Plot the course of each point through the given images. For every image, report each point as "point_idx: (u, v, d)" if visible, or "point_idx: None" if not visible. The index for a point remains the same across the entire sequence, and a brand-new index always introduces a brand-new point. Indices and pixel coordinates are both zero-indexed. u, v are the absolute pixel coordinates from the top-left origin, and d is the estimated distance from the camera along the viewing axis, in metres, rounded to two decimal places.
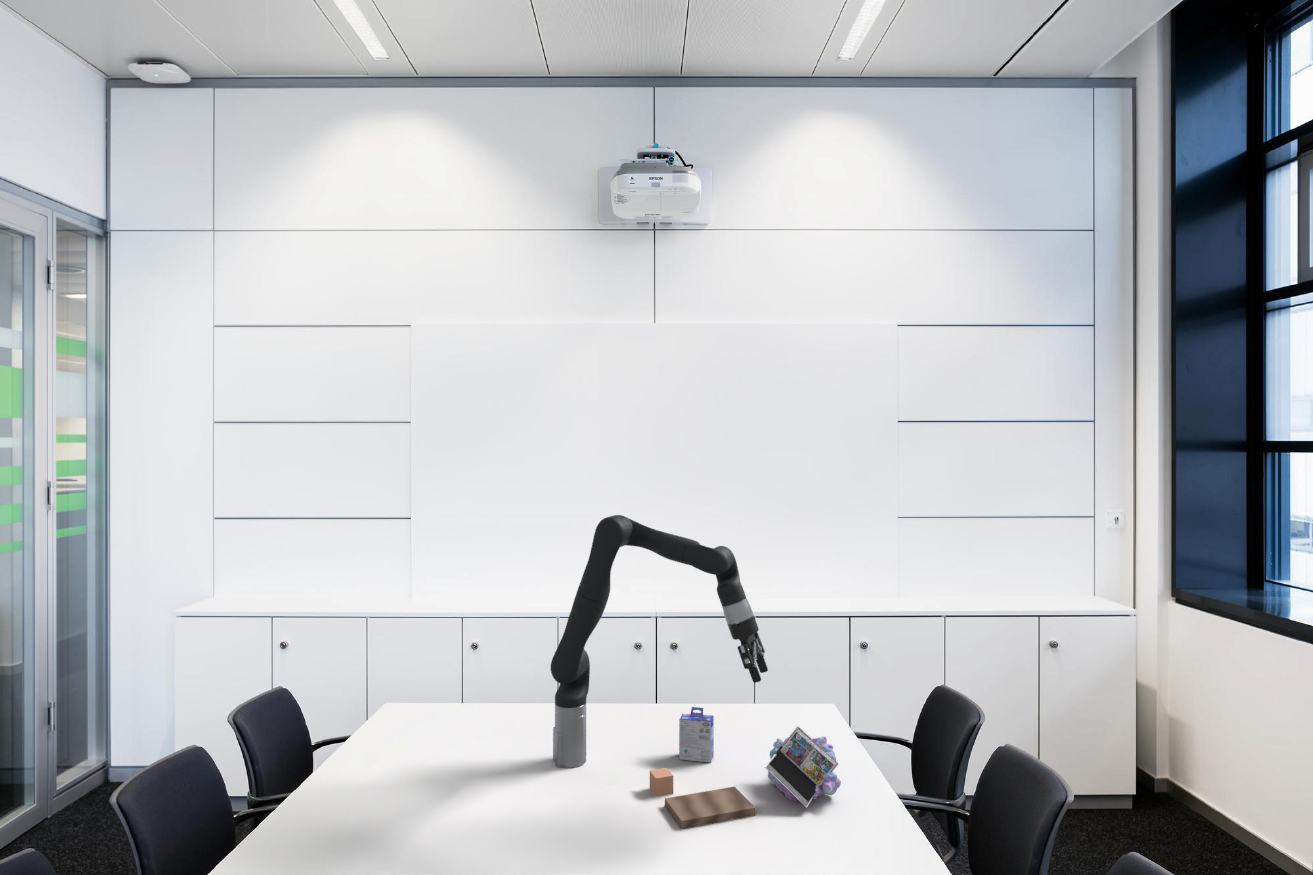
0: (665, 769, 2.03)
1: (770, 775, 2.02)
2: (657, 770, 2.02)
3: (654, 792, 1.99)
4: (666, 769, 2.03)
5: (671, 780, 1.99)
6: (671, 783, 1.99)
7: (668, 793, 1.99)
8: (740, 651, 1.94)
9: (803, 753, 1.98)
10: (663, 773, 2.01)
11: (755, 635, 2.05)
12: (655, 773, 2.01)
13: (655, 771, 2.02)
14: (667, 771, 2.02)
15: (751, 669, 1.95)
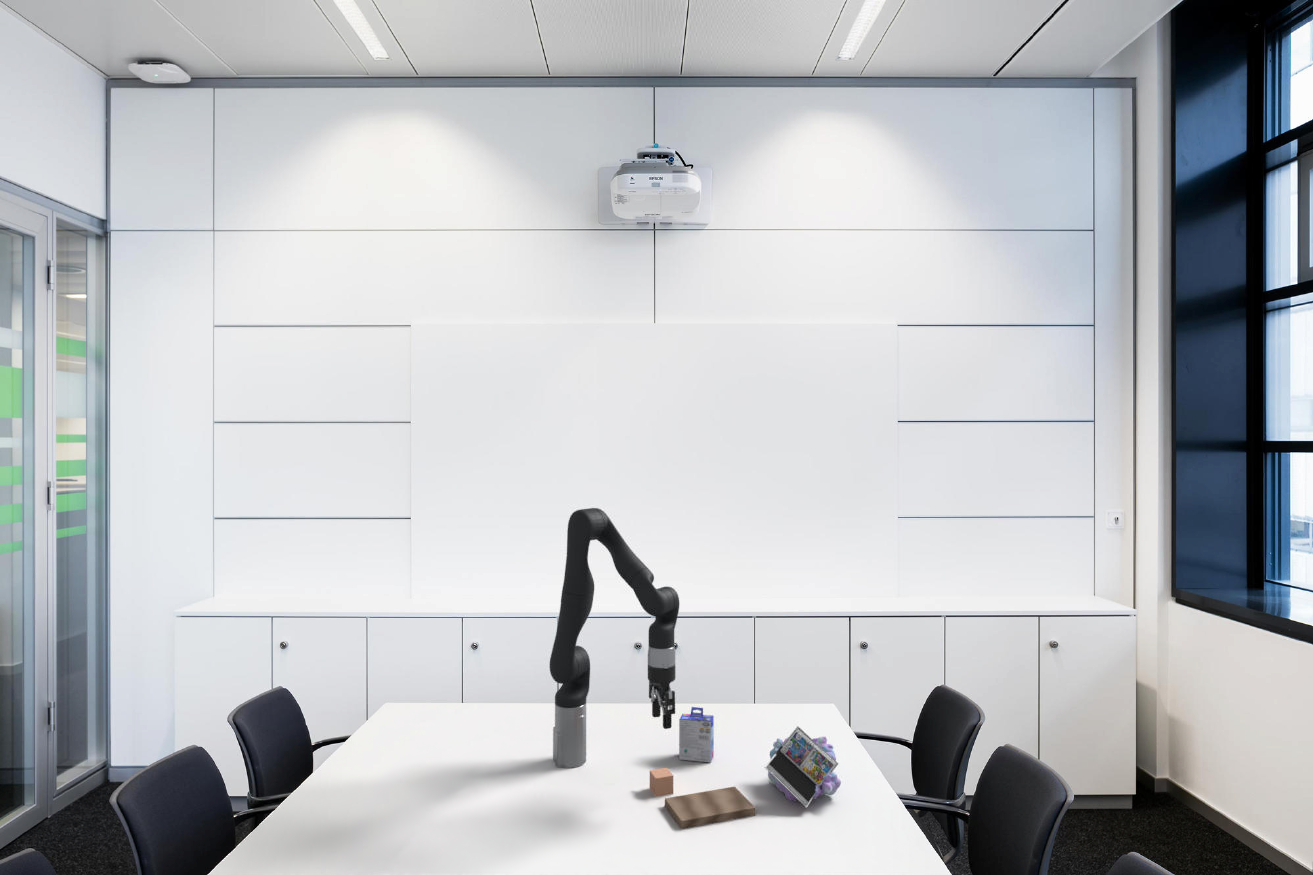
0: (665, 769, 2.03)
1: (770, 775, 2.02)
2: (657, 770, 2.02)
3: (654, 792, 1.99)
4: (666, 769, 2.03)
5: (671, 780, 1.99)
6: (671, 783, 1.99)
7: (668, 793, 1.99)
8: (667, 697, 1.94)
9: (803, 753, 1.98)
10: (663, 773, 2.01)
11: None
12: (655, 773, 2.01)
13: (655, 771, 2.02)
14: (667, 771, 2.02)
15: (668, 715, 1.96)
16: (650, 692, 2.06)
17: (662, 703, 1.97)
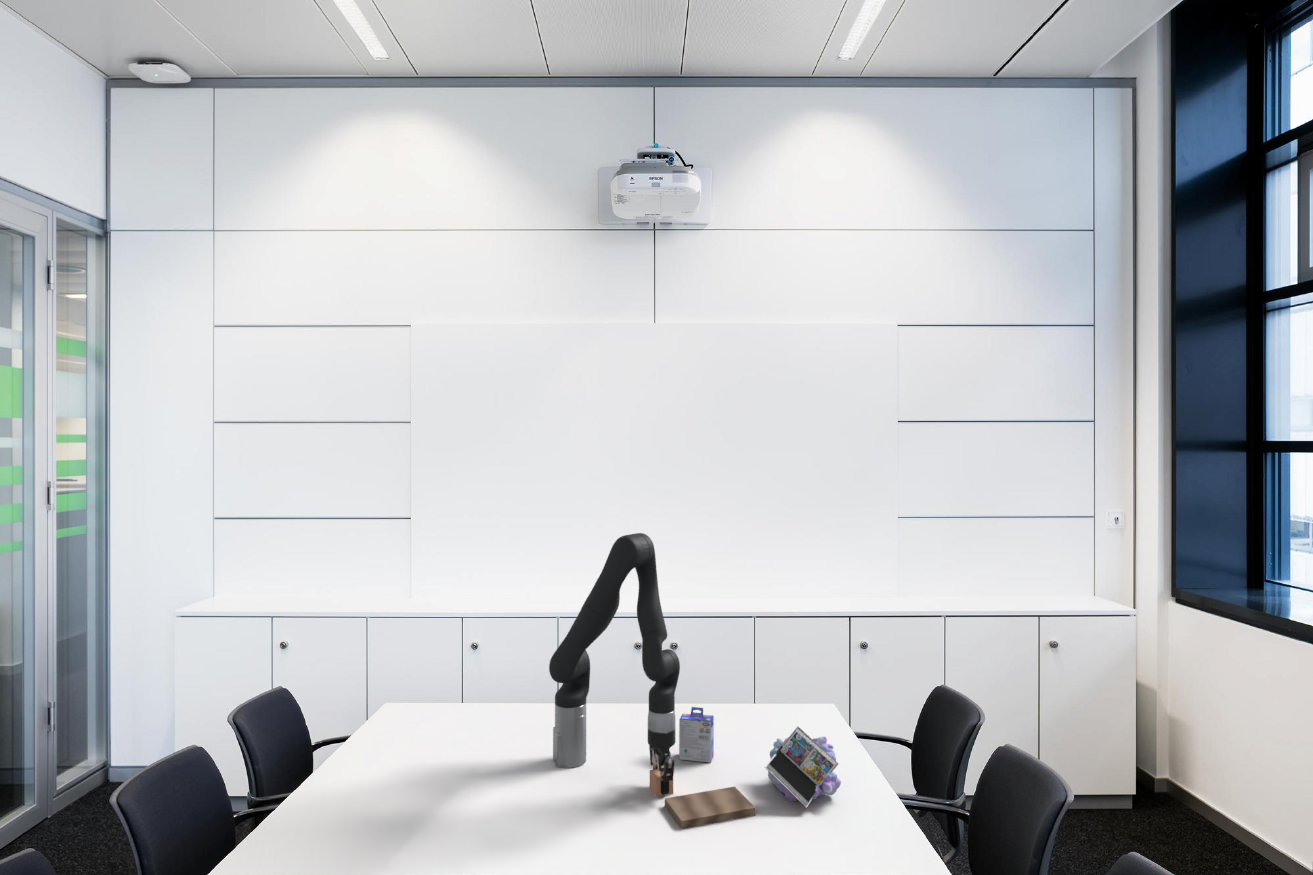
0: None
1: (770, 775, 2.02)
2: (657, 769, 2.02)
3: (654, 792, 1.99)
4: None
5: (671, 780, 1.99)
6: (671, 783, 1.99)
7: (668, 793, 1.99)
8: (667, 766, 1.94)
9: (803, 753, 1.98)
10: None
11: None
12: (655, 773, 2.01)
13: (655, 771, 2.02)
14: None
15: (666, 781, 1.97)
16: (651, 758, 2.05)
17: (661, 769, 1.98)
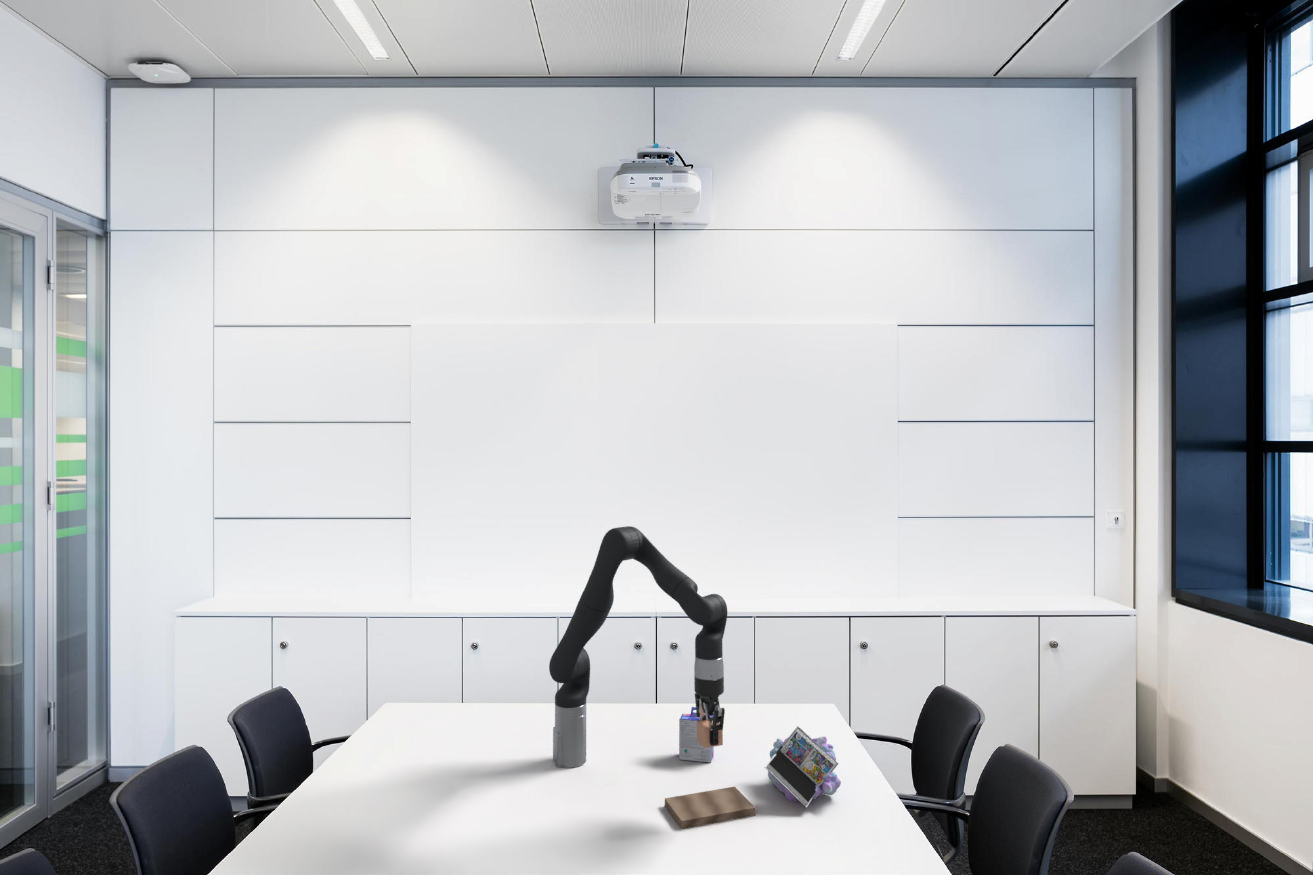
0: None
1: (770, 775, 2.02)
2: (704, 720, 1.92)
3: (702, 743, 1.88)
4: None
5: (720, 730, 1.89)
6: (720, 733, 1.89)
7: None
8: (717, 715, 1.84)
9: (803, 753, 1.98)
10: None
11: None
12: (703, 723, 1.90)
13: (703, 722, 1.91)
14: None
15: (715, 731, 1.87)
16: (698, 709, 1.95)
17: (710, 719, 1.87)
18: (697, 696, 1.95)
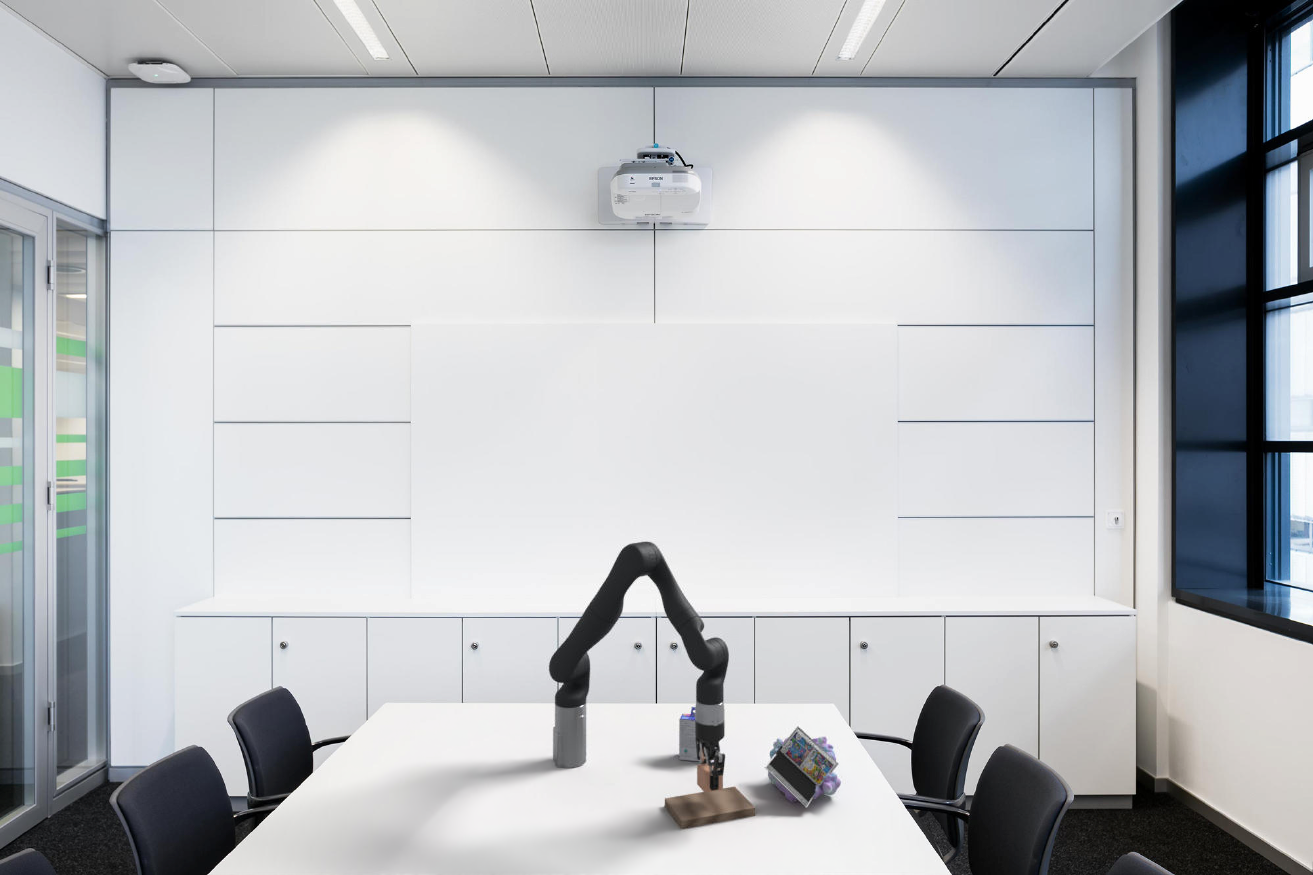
0: None
1: (770, 775, 2.02)
2: (705, 764, 1.92)
3: (703, 787, 1.88)
4: None
5: (720, 775, 1.89)
6: (720, 778, 1.89)
7: None
8: (717, 761, 1.84)
9: (803, 753, 1.98)
10: None
11: None
12: (703, 767, 1.90)
13: (703, 765, 1.91)
14: None
15: (715, 776, 1.87)
16: (698, 752, 1.94)
17: (710, 764, 1.87)
18: (698, 739, 1.95)
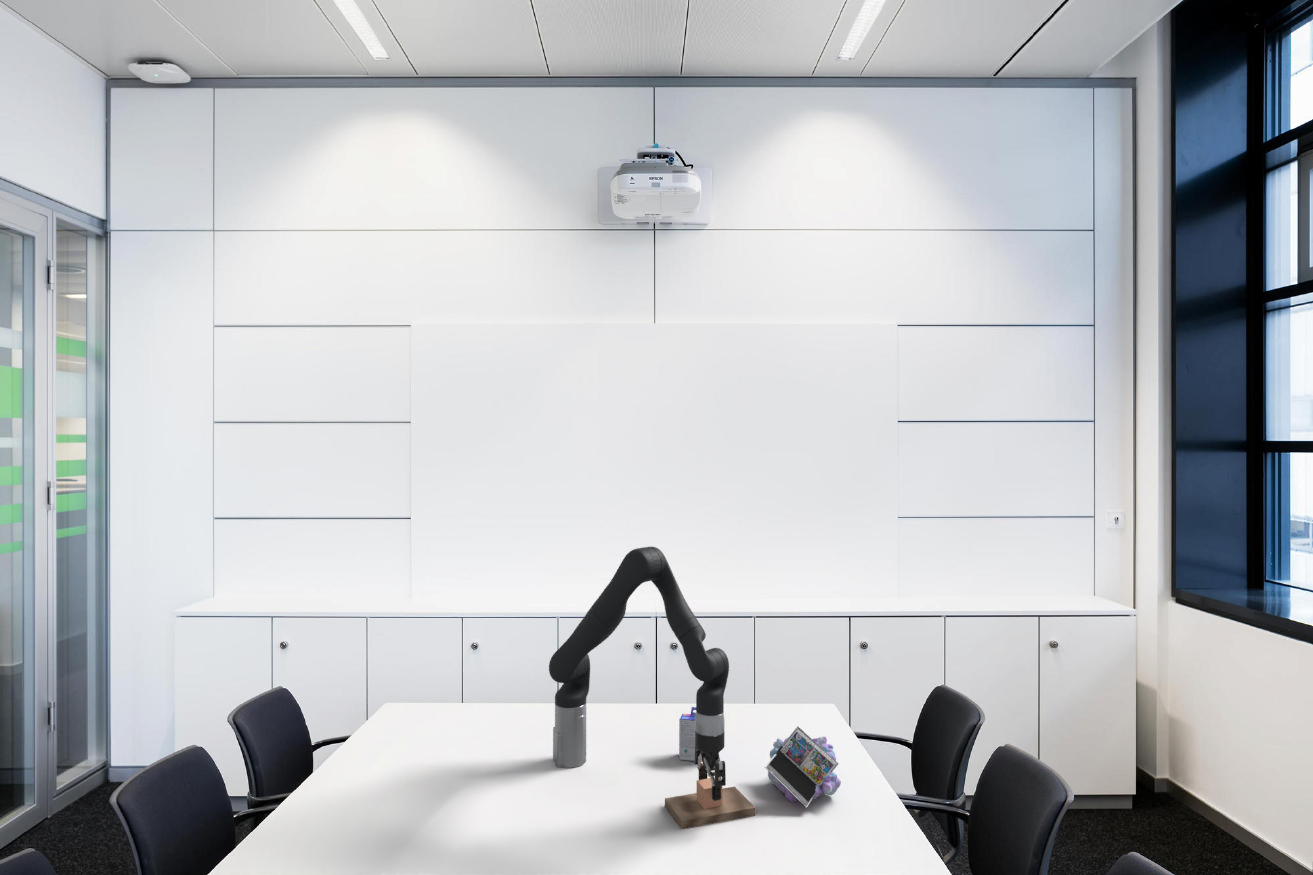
0: None
1: (770, 775, 2.02)
2: (704, 780, 1.92)
3: (702, 803, 1.88)
4: None
5: None
6: None
7: (717, 804, 1.89)
8: (718, 768, 1.84)
9: (803, 753, 1.98)
10: (711, 783, 1.90)
11: None
12: (703, 783, 1.90)
13: (702, 781, 1.91)
14: None
15: (717, 787, 1.85)
16: (696, 758, 1.96)
17: (711, 773, 1.86)
18: None
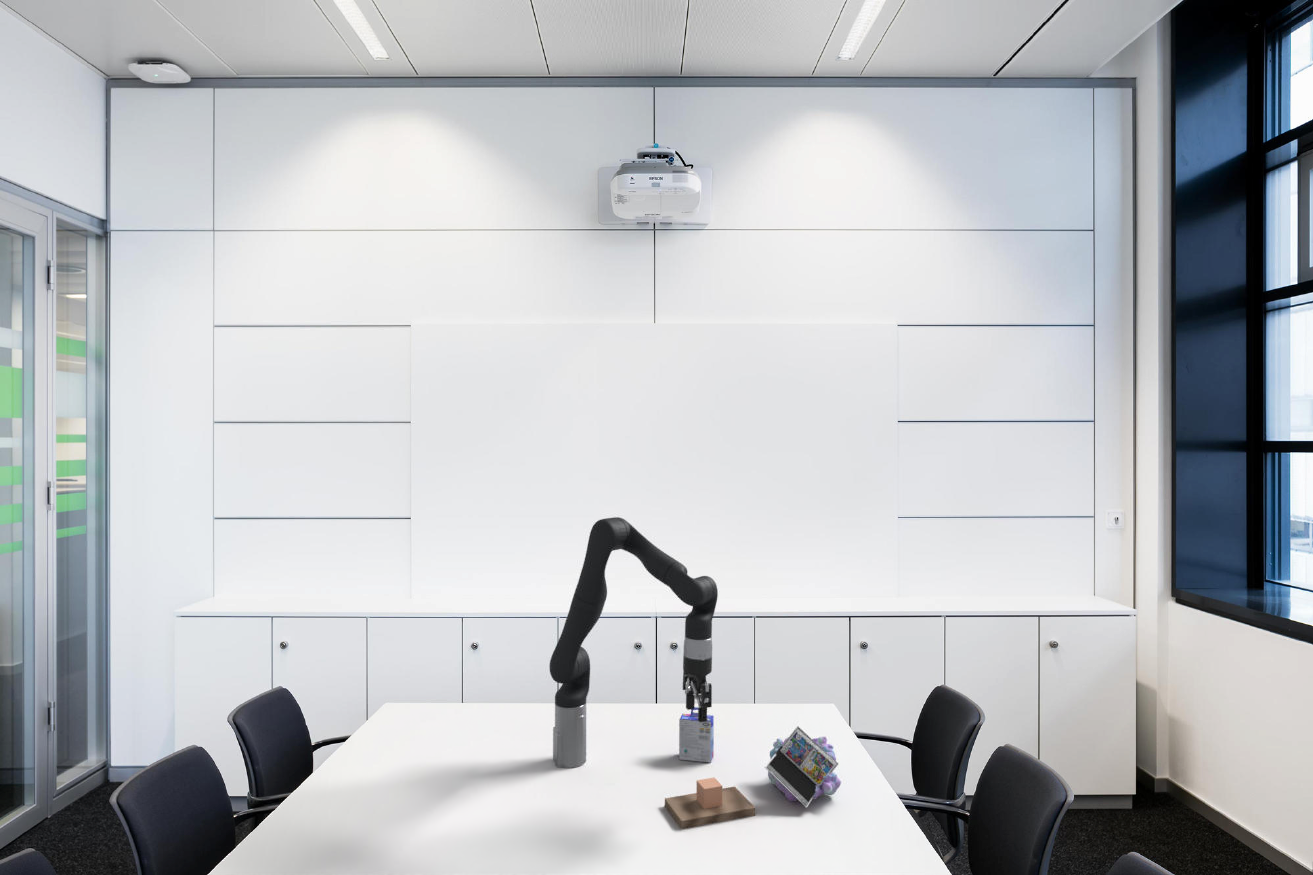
0: (713, 779, 1.93)
1: (770, 775, 2.02)
2: (704, 780, 1.92)
3: (702, 803, 1.88)
4: (714, 779, 1.93)
5: (720, 791, 1.89)
6: (720, 794, 1.89)
7: (717, 804, 1.89)
8: (704, 690, 1.88)
9: (803, 753, 1.98)
10: (711, 783, 1.90)
11: None
12: (703, 783, 1.90)
13: (702, 781, 1.91)
14: (715, 781, 1.91)
15: (704, 708, 1.90)
16: (684, 684, 2.00)
17: (698, 696, 1.91)
18: None
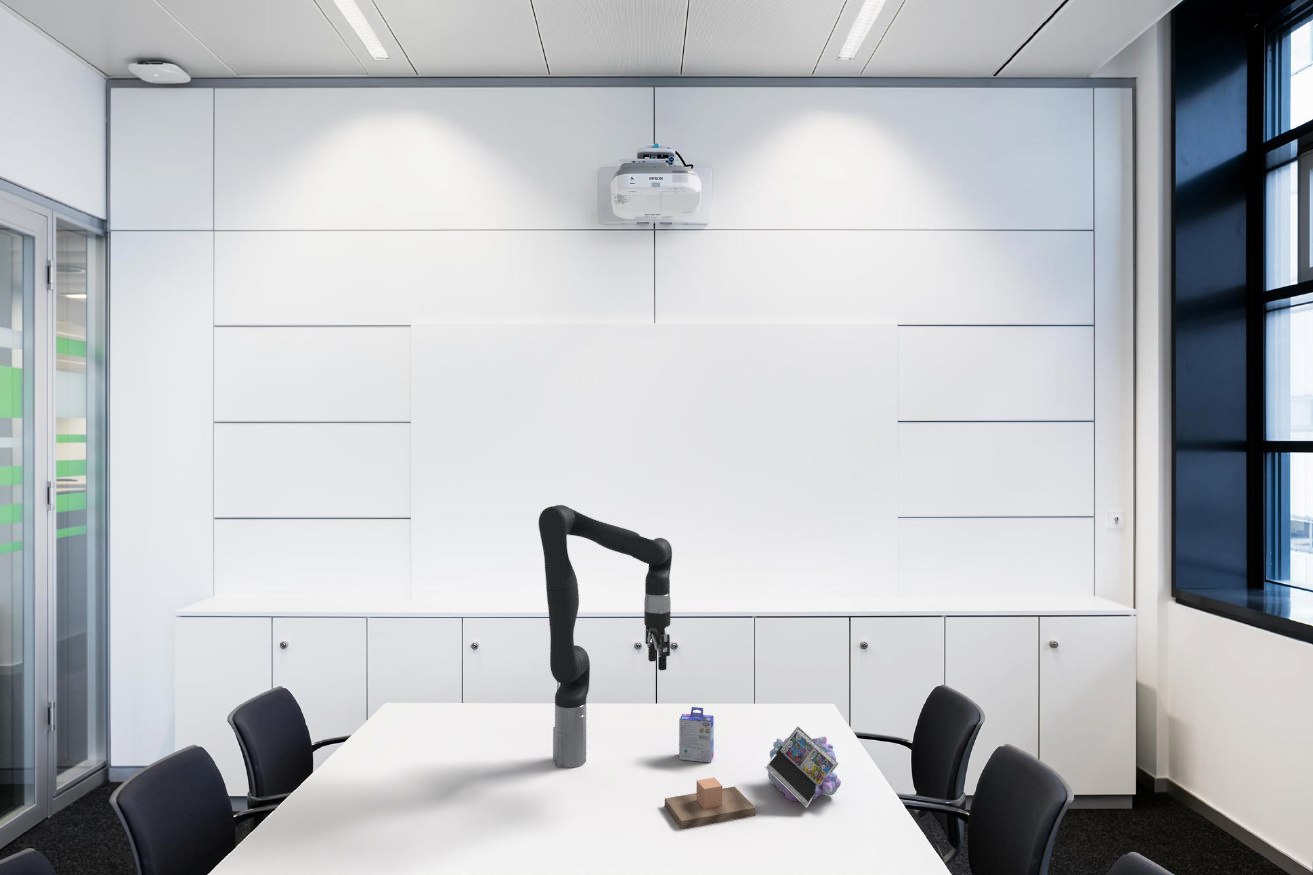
0: (713, 779, 1.93)
1: (770, 775, 2.02)
2: (704, 780, 1.92)
3: (702, 803, 1.88)
4: (714, 779, 1.93)
5: (720, 791, 1.89)
6: (720, 794, 1.89)
7: (717, 804, 1.89)
8: (663, 640, 2.06)
9: (803, 753, 1.98)
10: (711, 783, 1.90)
11: None
12: (703, 783, 1.90)
13: (702, 781, 1.91)
14: (715, 781, 1.91)
15: (663, 658, 2.08)
16: (646, 638, 2.18)
17: (658, 646, 2.09)
18: (647, 627, 2.18)
